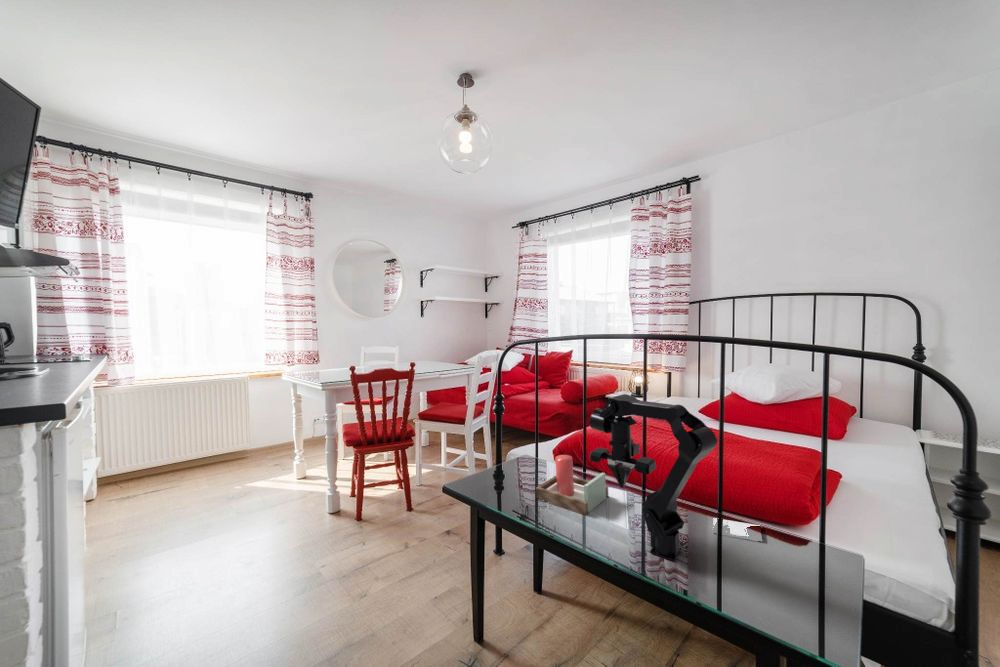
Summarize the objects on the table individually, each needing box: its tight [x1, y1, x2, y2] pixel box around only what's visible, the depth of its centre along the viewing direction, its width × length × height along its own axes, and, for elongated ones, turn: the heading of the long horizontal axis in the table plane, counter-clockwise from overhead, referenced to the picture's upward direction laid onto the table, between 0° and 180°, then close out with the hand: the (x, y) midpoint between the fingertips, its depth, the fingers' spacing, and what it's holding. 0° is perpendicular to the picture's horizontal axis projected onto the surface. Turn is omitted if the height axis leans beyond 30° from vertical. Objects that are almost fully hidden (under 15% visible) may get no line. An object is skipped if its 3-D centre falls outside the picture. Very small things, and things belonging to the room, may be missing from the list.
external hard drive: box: [712, 517, 761, 537], centre depth 122 cm, size 2×8×12 cm
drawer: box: [535, 475, 609, 516], centre depth 147 cm, size 20×16×4 cm
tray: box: [546, 472, 607, 514], centre depth 146 cm, size 18×12×9 cm
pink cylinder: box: [554, 454, 574, 497], centre depth 149 cm, size 6×6×13 cm
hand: (622, 487), depth 125 cm, fingers closed
